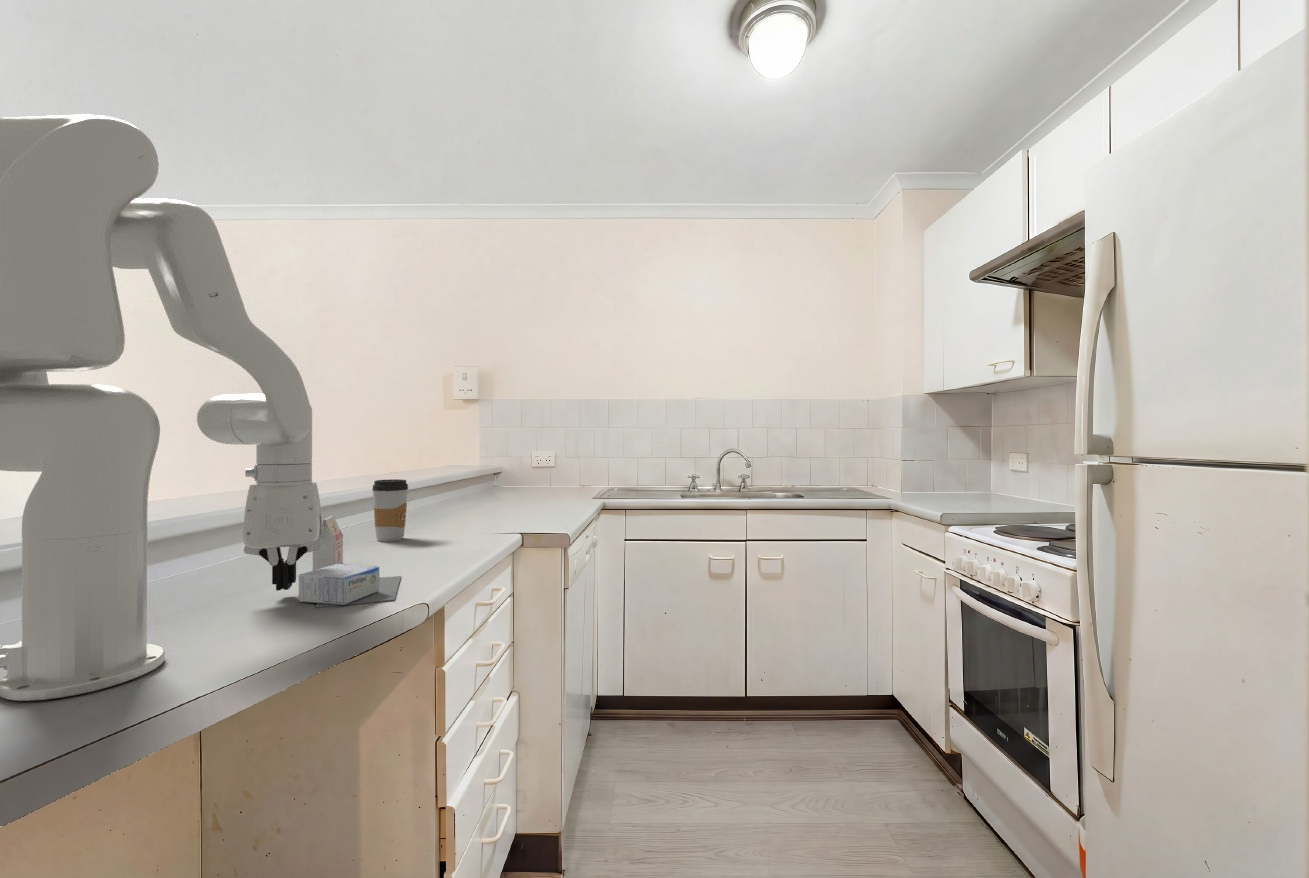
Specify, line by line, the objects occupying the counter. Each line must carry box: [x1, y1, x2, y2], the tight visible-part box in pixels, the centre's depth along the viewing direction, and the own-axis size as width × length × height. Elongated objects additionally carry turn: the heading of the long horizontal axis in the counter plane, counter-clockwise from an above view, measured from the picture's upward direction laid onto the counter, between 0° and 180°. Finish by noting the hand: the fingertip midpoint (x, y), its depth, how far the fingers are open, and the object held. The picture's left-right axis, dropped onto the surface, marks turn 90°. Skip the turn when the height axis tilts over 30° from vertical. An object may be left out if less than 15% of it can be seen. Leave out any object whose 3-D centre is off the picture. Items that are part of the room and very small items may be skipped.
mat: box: [314, 575, 402, 609], centre depth 94 cm, size 11×16×1 cm
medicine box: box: [298, 563, 380, 606], centre depth 90 cm, size 8×4×9 cm
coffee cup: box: [371, 478, 409, 543], centre depth 141 cm, size 8×8×15 cm
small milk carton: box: [312, 515, 344, 571], centre depth 110 cm, size 4×7×10 cm, turn 17°
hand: (284, 587), depth 90 cm, fingers closed
